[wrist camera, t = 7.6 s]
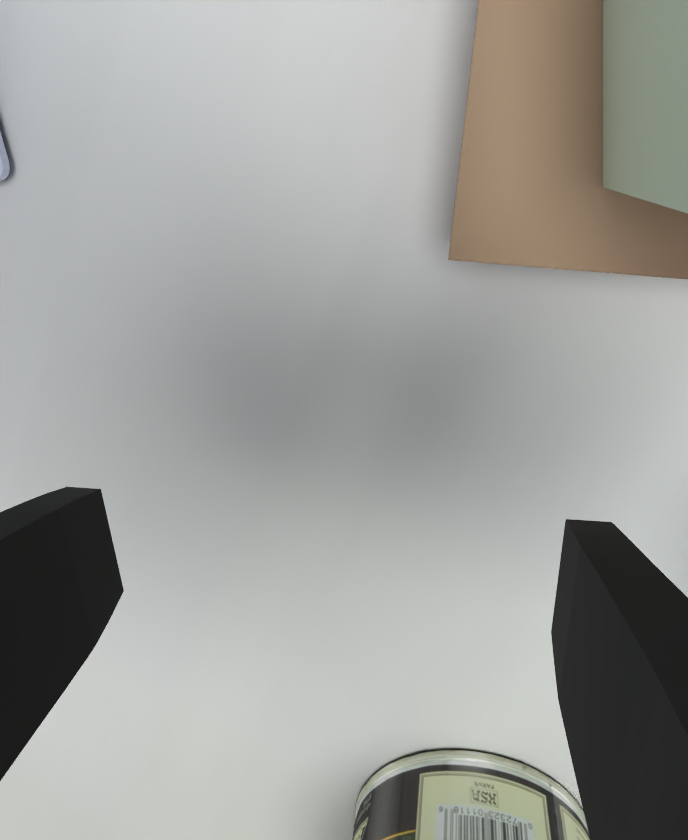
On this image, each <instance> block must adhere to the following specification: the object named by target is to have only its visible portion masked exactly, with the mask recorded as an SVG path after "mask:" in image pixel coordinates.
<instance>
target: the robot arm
mask: <svg viewBox="0 0 688 840" xmlns="http://www.w3.org/2000/svg"><path fill="white" fill-rule="evenodd" d="M9 171H10V166H9V160H8V156H7V153H6V150H5V146H4V143H3V139H2V136H1V132H0V181H2V180H5V179H6V177H7V176H8V175H9ZM123 591H124V590H123V586H122V582H121V577H120V573H119V568H118V564H117V559H116V555H115V550H114V546H113V542H112V537H111V533H110V528H109V524H108V519H107V515H106V510H105V506H104V502H103V497H102V493H101V489H90V488H75V487H65V488H62V489H59V490H56V491H53V492H50V493H47V494H44V495H42V496H39V497H36V498H34V499H31V500H29V501H26V502H24V503H22V504H19V505H17V506H14V507H12V508H10V509H7V510H5V511H3V512H0V781H1V779H2V778H3V776H4V775H5V773H6V772H7V771H8V769H9V768H10V766H11V765H12V764H13V762H14V761H15V759H16V758H17V757H18V755H19V754H20V752H21V751H22V750H23V748H24V747H25V745H26V744H27V743H28V741H29V740H30V738H31V737H32V736H33V734H34V733H35V731H36V730H37V728H38V727H39V726H40V724H41V723H42V721H43V720H44V719H45V717H46V716H47V714H48V713H49V712H50V710H51V709H52V707H53V706H54V705H55V703H56V702H57V700H58V699H59V698H60V696H61V695H62V693H63V692H64V691H65V689H66V688H67V686H68V685H69V683H70V682H71V680H72V679H73V678H74V676H75V675H76V673H77V672H78V670H79V669H80V668H81V666H82V665H83V663H84V662H85V660H86V659H87V657H88V656H89V654H90V653H91V651H92V650H93V648H94V647H95V645H96V644H97V642H98V640H99V638H100V636H101V634H102V633H103V631H104V629H105V627H106V625H107V623H108V622H109V620H110V618H111V616H112V614H113V611H114V609H115V607H116V605H117V603H118V601H119V599H120V597H121V595H122V593H123ZM551 634H552V644H553V654H554V664H555V674H556V682H557V691H558V700H559V704H560V709H561V714H562V718H563V723H564V727H565V731H566V736H567V740H568V745H569V749H570V754H571V758H572V763H573V767H574V771H575V776H576V780H577V784H578V789H579V793H580V797H581V802H582V806H583V811H584V815H585V819H586V824H587V828H588V832H589V837H590V840H688V597H686V596H685V595H684V594H683V593H682V592H681V591H680V590H679V589H678V588H677V587H676V586H675V585H674V584H673V583H672V582H671V581H670V580H669V579H668V578H667V577H666V576H665V575H664V574H663V573H662V572H661V571H660V570H659V569H658V568H657V567H656V566H655V565H654V564H653V563H652V562H651V561H650V560H649V559H648V558H647V557H646V556H645V555H644V554H643V553H642V552H641V551H640V550H639V549H638V548H637V547H636V546H635V545H634V544H633V543H632V542H631V541H630V540H629V539H628V538H627V537H626V536H625V535H624V534H623V533H622V532H621V531H620V530H619V529H618V528H617V527H616V526H615V525H614V524H613V523H612V522H600V521H584V520H569V519H566V522H565V530H564V537H563V545H562V553H561V561H560V569H559V576H558V584H557V592H556V600H555V607H554V615H553V623H552V631H551Z"/></svg>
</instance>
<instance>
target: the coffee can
mask: <svg viewBox="0 0 688 840" xmlns="http://www.w3.org/2000/svg"><path fill="white" fill-rule="evenodd" d="M352 840H590V837H589V832H588V828H587V824H586V819H585V815H584V811H583V810H582V809H581V808H580V806H579V805H578V803H577V802H576V800H575V799H574V798H573V797H572V796H571V795H570V794H569V793H568V792H567V791H566V790H565V789H564V788H563V787H562V786H560V785H559V784H558V783H556V782H555V781H553V780H552V779H551V778H549V777H548V776H546V775H544V774H543V773H541V772H539V771H537V770H535V769H533V768H531V767H529V766H527V765H525V764H523V763H521V762H517V761H513V760H510V759H507V758H503V757H500V756H496V755H492V754H487V753H481V752H476V751H465V750H442V751H432V752H423V753H419V754H416V755H413V756H409V757H405V758H402V759H399V760H397V761H395V762H393V763H390V764H389V765H387V766H385V767H384V768H382V769H381V770H379V771H378V772H377V773H376V774H374V775H373V776H372V777H371V778H370V779H369V781H368V782H367V783H366V784H365V786H364V787H363V788H362V790H361V792H360V794H359V796H358V800H357V803H356V809H355V825H354V832H353V839H352Z"/></svg>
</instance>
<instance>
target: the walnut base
mask: <svg viewBox="0 0 688 840" xmlns="http://www.w3.org/2000/svg"><path fill="white" fill-rule="evenodd" d="M448 260H457V261H469V262H481V263H494V264H506V265H518V266H531V267H543V268H555V269H568V270H580V271H592V272H605V273H617V274H629V275H642V276H654V277H667V278H679V279H688V213H684V212H681V211H678V210H675V209H671V208H668V207H665V206H662V205H659V204H655V203H652V202H649V201H646V200H643V199H639V198H636V197H633V196H630V195H626V194H623V193H620V192H617V191H614V190H610V189H607V188H604V187H603V0H479V3H478V12H477V20H476V28H475V37H474V45H473V54H472V62H471V71H470V79H469V88H468V96H467V105H466V113H465V122H464V130H463V139H462V147H461V156H460V164H459V173H458V181H457V190H456V198H455V207H454V215H453V224H452V232H451V241H450V249H449V258H448Z"/></svg>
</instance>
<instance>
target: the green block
mask: <svg viewBox="0 0 688 840" xmlns="http://www.w3.org/2000/svg"><path fill="white" fill-rule="evenodd" d="M603 187H604V188H607V189H610V190H614V191H617V192H620V193H623V194H626V195H630V196H633V197H636V198H639V199H643V200H646V201H649V202H652V203H655V204H659V205H662V206H665V207H668V208H671V209H675V210H678V211H681V212H684V213H688V0H603Z"/></svg>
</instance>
